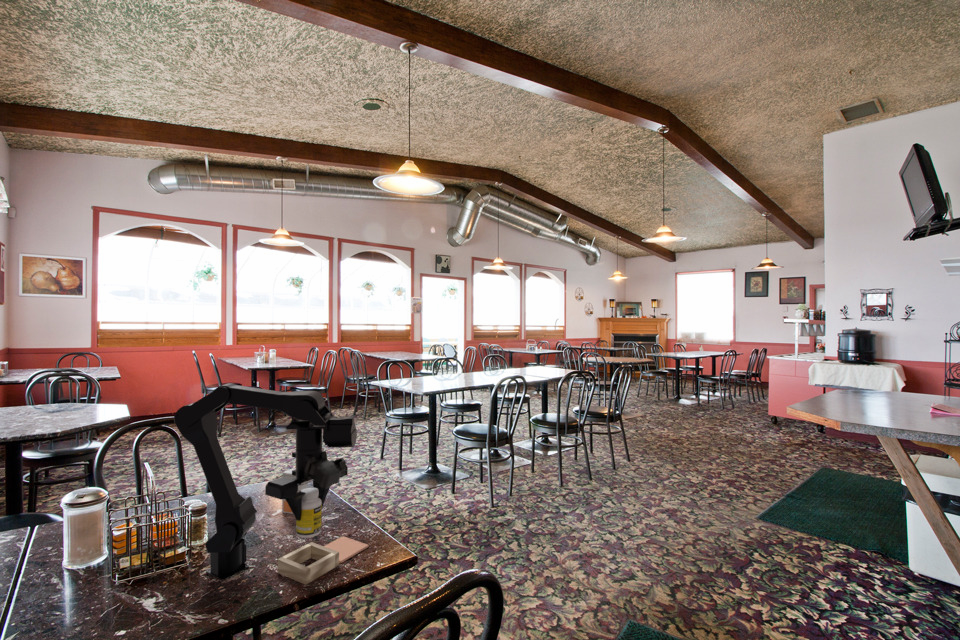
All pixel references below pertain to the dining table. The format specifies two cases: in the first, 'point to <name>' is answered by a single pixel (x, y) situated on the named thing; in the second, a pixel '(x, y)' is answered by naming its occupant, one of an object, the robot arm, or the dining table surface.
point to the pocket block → (305, 575)
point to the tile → (346, 547)
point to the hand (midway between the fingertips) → (309, 515)
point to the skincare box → (285, 505)
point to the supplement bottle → (310, 514)
